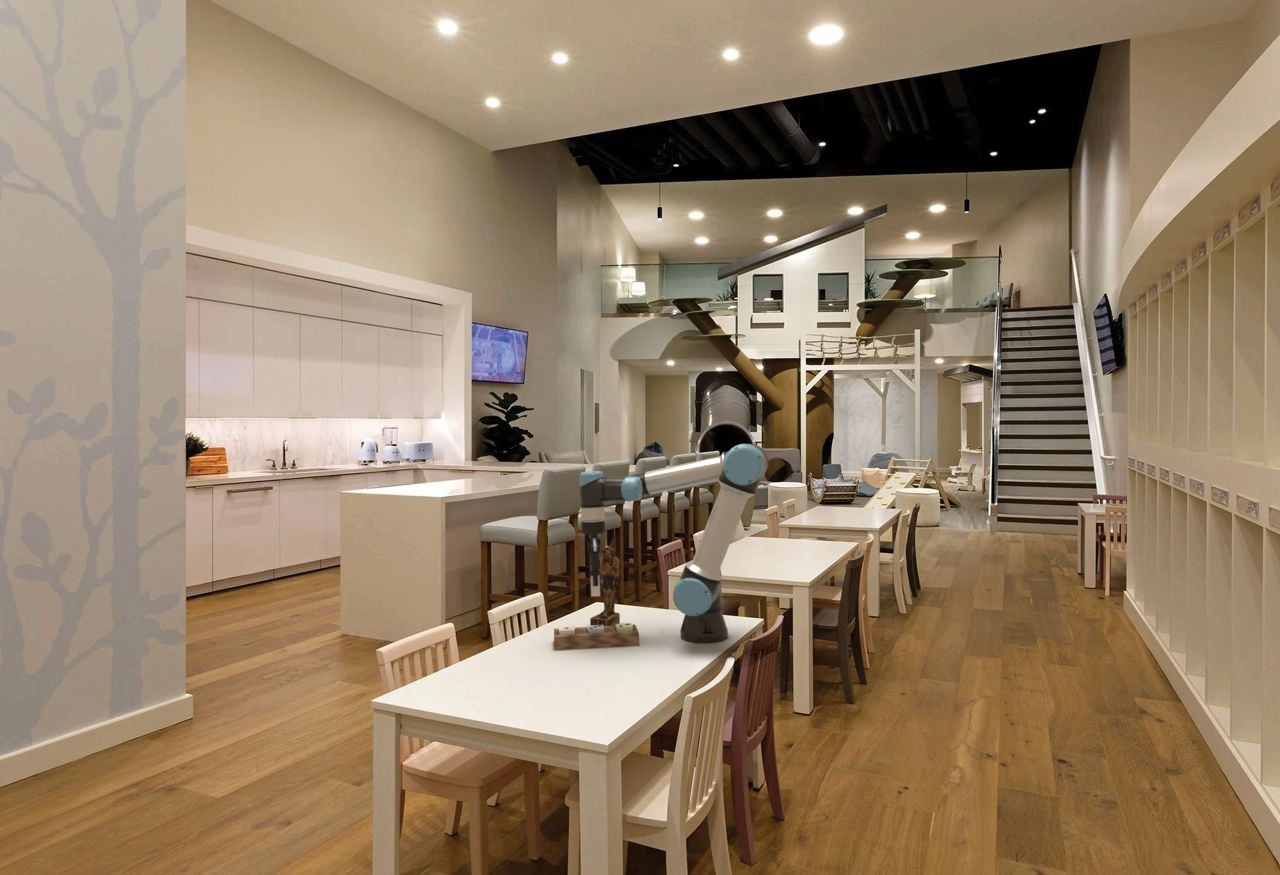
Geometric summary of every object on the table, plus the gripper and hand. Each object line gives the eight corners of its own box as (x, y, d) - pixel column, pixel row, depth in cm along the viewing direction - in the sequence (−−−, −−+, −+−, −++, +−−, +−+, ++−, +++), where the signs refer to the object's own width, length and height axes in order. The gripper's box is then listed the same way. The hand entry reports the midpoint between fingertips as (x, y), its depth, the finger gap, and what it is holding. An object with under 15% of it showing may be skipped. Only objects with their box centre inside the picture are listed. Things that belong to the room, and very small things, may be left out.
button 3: (603, 637, 255) (602, 624, 255) (604, 641, 250) (604, 627, 250) (587, 638, 254) (587, 624, 254) (588, 642, 249) (588, 628, 249)
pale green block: (631, 635, 256) (631, 622, 256) (633, 639, 251) (632, 626, 251) (615, 636, 255) (615, 623, 255) (617, 640, 250) (616, 627, 250)
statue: (589, 631, 268) (587, 541, 268) (603, 623, 278) (601, 537, 278) (611, 632, 265) (609, 542, 265) (624, 625, 275) (622, 537, 275)
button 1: (574, 638, 254) (574, 625, 254) (575, 642, 249) (575, 629, 249) (558, 639, 253) (558, 626, 253) (559, 643, 248) (558, 630, 248)
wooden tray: (635, 636, 259) (634, 624, 259) (639, 645, 248) (638, 632, 248) (554, 641, 256) (553, 628, 256) (554, 650, 245) (554, 637, 245)
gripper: (580, 519, 258) (582, 592, 258) (581, 523, 245) (584, 600, 245) (603, 518, 259) (606, 591, 259) (606, 522, 246) (609, 599, 246)
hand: (595, 595), depth 252 cm, fingers closed
